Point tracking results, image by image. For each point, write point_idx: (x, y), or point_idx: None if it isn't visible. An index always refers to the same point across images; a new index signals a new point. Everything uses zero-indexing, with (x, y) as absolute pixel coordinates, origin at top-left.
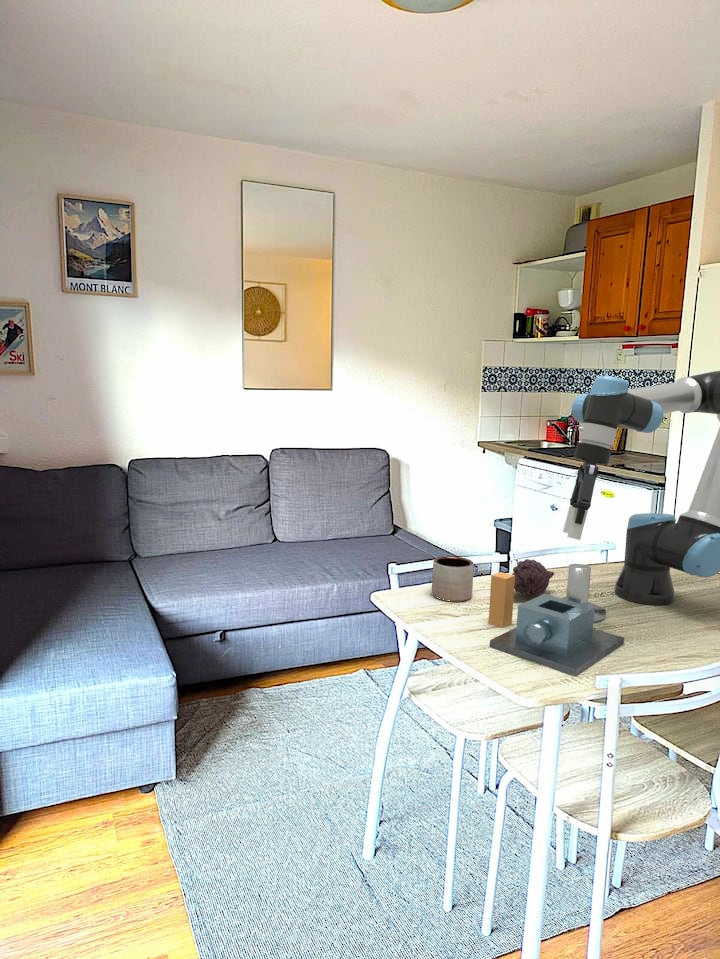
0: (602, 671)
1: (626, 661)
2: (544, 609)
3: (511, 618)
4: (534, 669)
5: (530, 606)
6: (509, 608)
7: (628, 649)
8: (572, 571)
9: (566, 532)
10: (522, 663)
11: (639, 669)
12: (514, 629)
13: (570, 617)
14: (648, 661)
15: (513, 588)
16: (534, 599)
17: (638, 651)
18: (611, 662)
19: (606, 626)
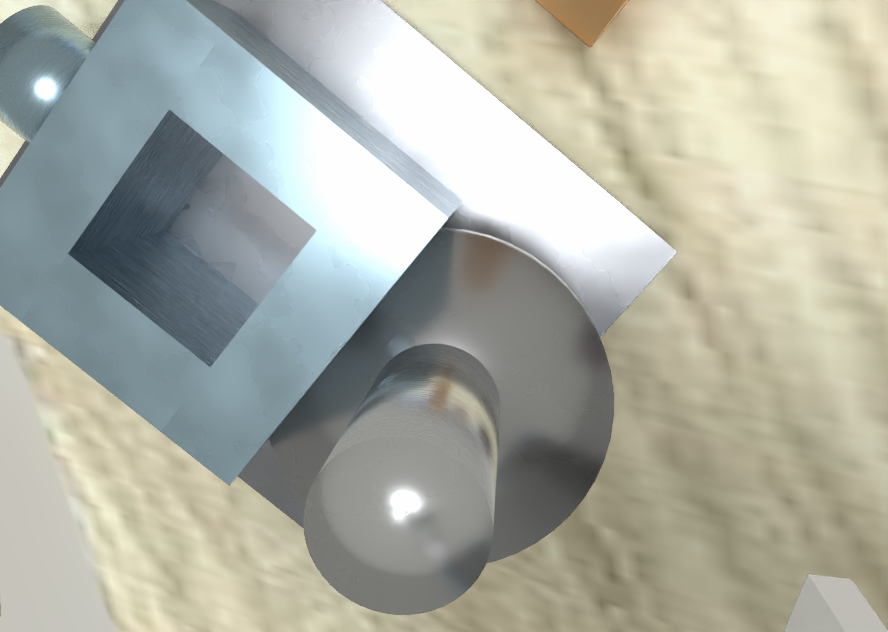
0: (53, 379)
1: (181, 513)
2: (111, 146)
3: (587, 38)
4: None
5: (148, 57)
6: (568, 5)
7: None
8: (344, 442)
9: (796, 614)
10: None
11: (109, 538)
12: (399, 28)
13: (3, 283)
14: (200, 604)
15: (607, 5)
16: (303, 114)
17: (304, 602)
18: (156, 446)
19: (608, 561)
